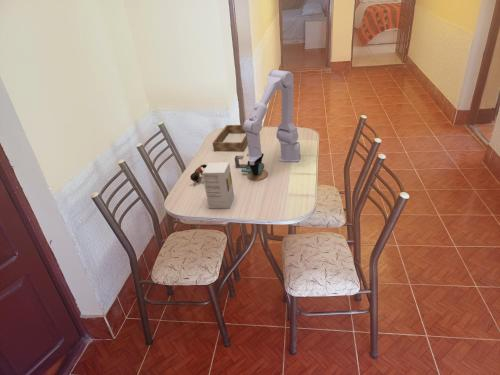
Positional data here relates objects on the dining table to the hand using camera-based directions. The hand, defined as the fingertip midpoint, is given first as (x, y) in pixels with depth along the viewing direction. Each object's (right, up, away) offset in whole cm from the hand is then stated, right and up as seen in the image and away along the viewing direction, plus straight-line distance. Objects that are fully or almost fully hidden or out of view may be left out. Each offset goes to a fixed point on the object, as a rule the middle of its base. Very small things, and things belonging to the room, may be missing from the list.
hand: (257, 171), depth 167 cm
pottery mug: (-26, -4, +2) cm, 26 cm away
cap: (-3, 0, +1) cm, 3 cm away
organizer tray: (-12, +19, +38) cm, 44 cm away
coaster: (0, -2, +1) cm, 2 cm away
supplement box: (-15, -14, -16) cm, 26 cm away
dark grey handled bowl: (-3, +3, +9) cm, 10 cm away
